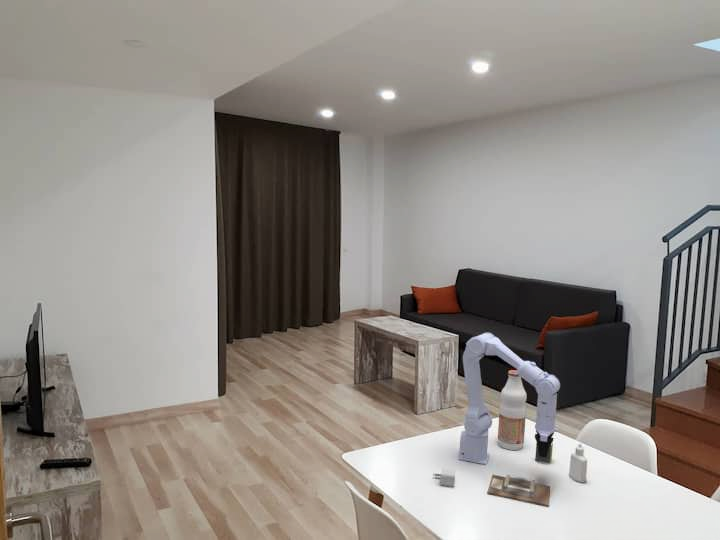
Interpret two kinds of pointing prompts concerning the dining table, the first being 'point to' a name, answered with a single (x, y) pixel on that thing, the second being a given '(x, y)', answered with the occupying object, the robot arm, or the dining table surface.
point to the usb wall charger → (446, 477)
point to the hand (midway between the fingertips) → (542, 454)
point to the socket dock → (519, 489)
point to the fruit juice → (512, 413)
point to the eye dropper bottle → (578, 465)
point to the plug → (542, 459)
